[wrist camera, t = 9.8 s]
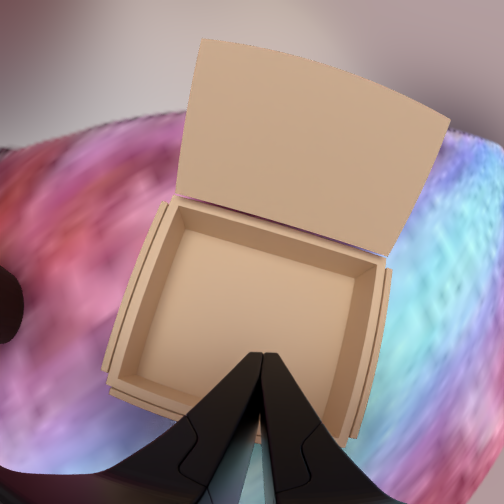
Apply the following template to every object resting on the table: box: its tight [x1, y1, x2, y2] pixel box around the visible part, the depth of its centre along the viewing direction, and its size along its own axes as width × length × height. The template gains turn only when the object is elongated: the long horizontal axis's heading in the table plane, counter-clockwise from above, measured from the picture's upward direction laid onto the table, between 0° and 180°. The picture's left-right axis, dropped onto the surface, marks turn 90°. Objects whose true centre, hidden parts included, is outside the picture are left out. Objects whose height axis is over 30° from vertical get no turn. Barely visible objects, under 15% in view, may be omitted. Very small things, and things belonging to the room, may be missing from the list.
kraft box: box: [101, 195, 392, 448], centre depth 17 cm, size 12×15×4 cm
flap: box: [175, 39, 451, 257], centre depth 14 cm, size 1×13×9 cm
